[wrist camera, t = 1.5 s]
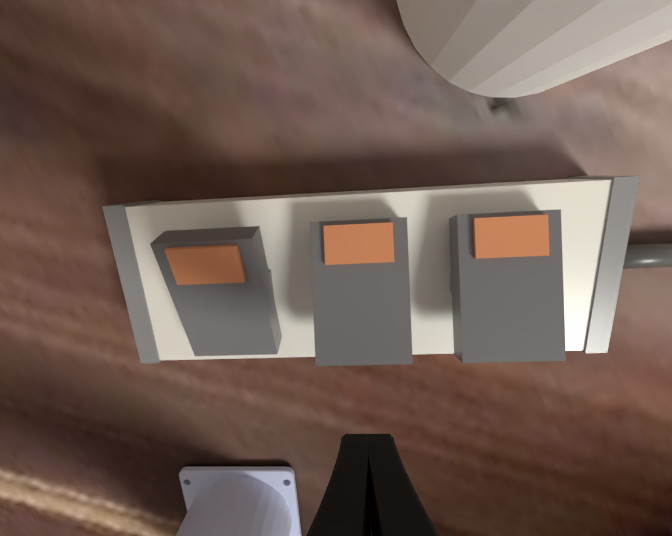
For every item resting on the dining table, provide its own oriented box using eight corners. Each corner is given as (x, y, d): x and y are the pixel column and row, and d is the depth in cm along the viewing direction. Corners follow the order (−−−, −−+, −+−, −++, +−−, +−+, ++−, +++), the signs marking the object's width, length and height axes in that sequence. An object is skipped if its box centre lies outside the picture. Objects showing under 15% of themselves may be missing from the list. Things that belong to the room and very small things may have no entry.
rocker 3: (548, 352, 14) (568, 362, 13) (453, 354, 15) (464, 364, 13) (543, 213, 14) (564, 208, 13) (449, 218, 14) (458, 214, 13)
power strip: (675, 321, 18) (749, 355, 15) (172, 335, 20) (135, 368, 17) (712, 168, 16) (809, 167, 13) (143, 200, 18) (94, 207, 15)
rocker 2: (408, 355, 15) (413, 365, 13) (319, 358, 15) (315, 367, 14) (402, 221, 15) (407, 216, 13) (313, 225, 15) (308, 221, 13)
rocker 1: (282, 336, 16) (276, 357, 15) (204, 338, 17) (193, 359, 16) (259, 226, 13) (250, 241, 12) (164, 230, 14) (147, 246, 12)
